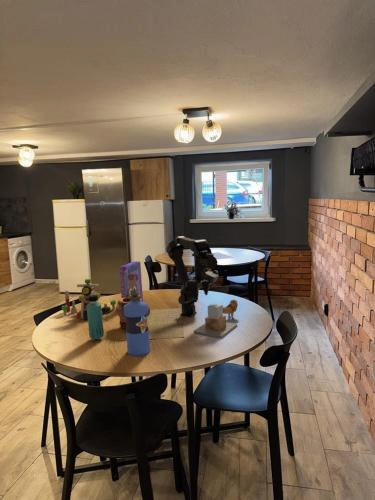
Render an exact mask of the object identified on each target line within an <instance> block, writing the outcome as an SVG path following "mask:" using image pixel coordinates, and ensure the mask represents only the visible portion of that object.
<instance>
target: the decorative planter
mask: <svg viewBox="0 0 375 500" xmlns="http://www.w3.org/2000/svg"><path fill="white" fill-rule="evenodd" d="M140 301H142V302H144V301H143V300H142V299H141V300H140ZM129 302H130V297H128V298H122V297H121V298H120V299H118V300H117V302H116V305H115V310H114V312H115V314H116V315H117V316H118V317H119V325H120V328H121V329H122V330H125V331H126V326H127V324H126V319H125V315H124V305H126V304H128V303H129ZM150 314H151V310H150V308H149V306H148V316H147V318H148V317H149V316H150Z"/></svg>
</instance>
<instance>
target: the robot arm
mask: <svg viewBox="0 0 375 500" xmlns="http://www.w3.org/2000/svg"><path fill="white" fill-rule="evenodd" d="M185 248H189V249H190V251H191V252H192V254H191V256H192V257H193V265H194V268H192V271H194V276H193V277H192V279H190V278H189V275H188V272H187V268H186V265H185V262H184V260H183V256H184V249H185ZM165 250H166V253H167V255H168V257H169V258H170V259H171V260H172V261H173V263H174V266H175V269H176V274H177V277H178V279H179V282H180V285H181V287H180V290H179V292H180V296H179V297H178V299H177V301H178V304H179V305H181V313H180V316H184V317H192V316H194V315H195V314H197V311H196V303H198V301H199V291H200V289H201V288H202V290H203V293H204V295H205V296H208V294H209V290H210V287H211V285H212V284H214V283H216V282H217V280H218V278H220V276H219V271H218V270H214V269H215V268H217V266H218V259H217V258H216V257H215V256H214V253H212V249H211V248H210V245H209V243H208V242H207V240H206V239H193V238H189V237H187V236H183V235H181V236H175V237H174V238H173V240H172V241H170V242H169V243H168V245H167V246H166V249H165ZM210 270H213V271H210ZM201 285H202V286H201Z"/></svg>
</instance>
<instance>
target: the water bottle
mask: <svg viewBox="0 0 375 500" xmlns="http://www.w3.org/2000/svg"><path fill="white" fill-rule="evenodd" d="M139 294H140V293H139V292H138V291H137V290H133V291H132V292H131V293H130V295H131V296H130V302H129V303H128V304H126V305H124V315H125V319H126V324H127V326H126V330H125V337H126V348H127V349H126V350H127V354H128V355H129V356H131V357H141V356H145V355H148V354H149V353H150V352H151V344H150V343H151V340H150V330H149V329H150V328H149V324H148V317H149V316H148V307H149V304H148V303H147V302H144V301H143V300H142V301H143V302H142V301H140V300H141V296H140V295H139ZM147 316H148V317H147Z"/></svg>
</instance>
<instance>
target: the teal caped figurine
mask: <svg viewBox="0 0 375 500" xmlns="http://www.w3.org/2000/svg"><path fill="white" fill-rule="evenodd" d="M97 300H98V301H99V299H98V296H97V295H91V296H89V297H88V301H89V302H92V303H89V304H88V305H87V315H88V320H87V326H88V327H87V328H88V336H89V339H90V340H99V339H101V338H103V337H104V335H105V329H104V322H103V321H104V320H103V312H102V309H101V308H102V303H101V302H98V301H97ZM94 301H97V302H94Z"/></svg>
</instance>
